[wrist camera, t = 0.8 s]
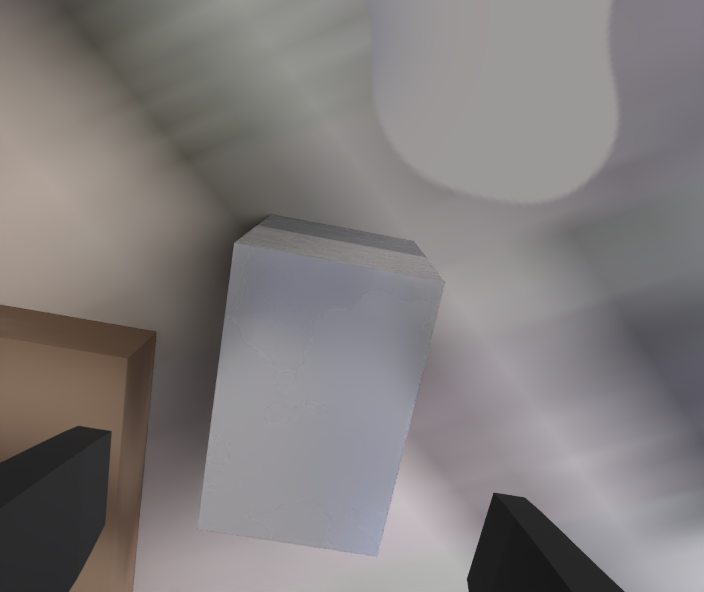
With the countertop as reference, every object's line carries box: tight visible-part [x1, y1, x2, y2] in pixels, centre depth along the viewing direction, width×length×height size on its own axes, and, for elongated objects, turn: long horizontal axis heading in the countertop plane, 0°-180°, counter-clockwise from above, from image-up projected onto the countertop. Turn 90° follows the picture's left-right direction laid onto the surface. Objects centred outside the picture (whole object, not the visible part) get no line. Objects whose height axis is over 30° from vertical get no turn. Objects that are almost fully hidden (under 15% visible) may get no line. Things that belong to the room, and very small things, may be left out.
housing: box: [197, 214, 445, 557], centre depth 16 cm, size 8×5×6 cm, turn 169°
